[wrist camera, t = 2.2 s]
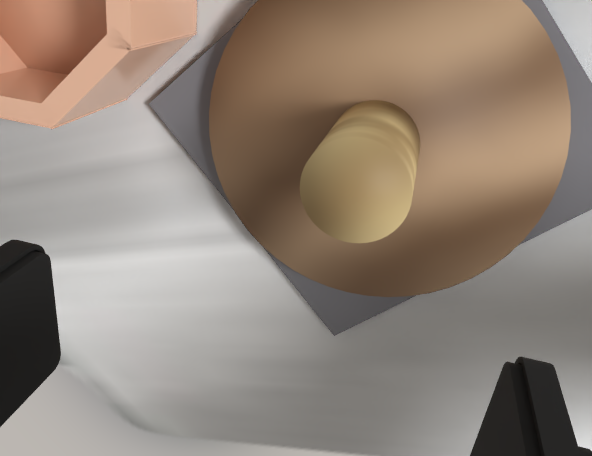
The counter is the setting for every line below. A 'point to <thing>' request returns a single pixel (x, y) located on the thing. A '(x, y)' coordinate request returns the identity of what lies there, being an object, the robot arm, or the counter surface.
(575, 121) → the mat
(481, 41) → the lid
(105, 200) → the counter surface
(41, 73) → the bowl
